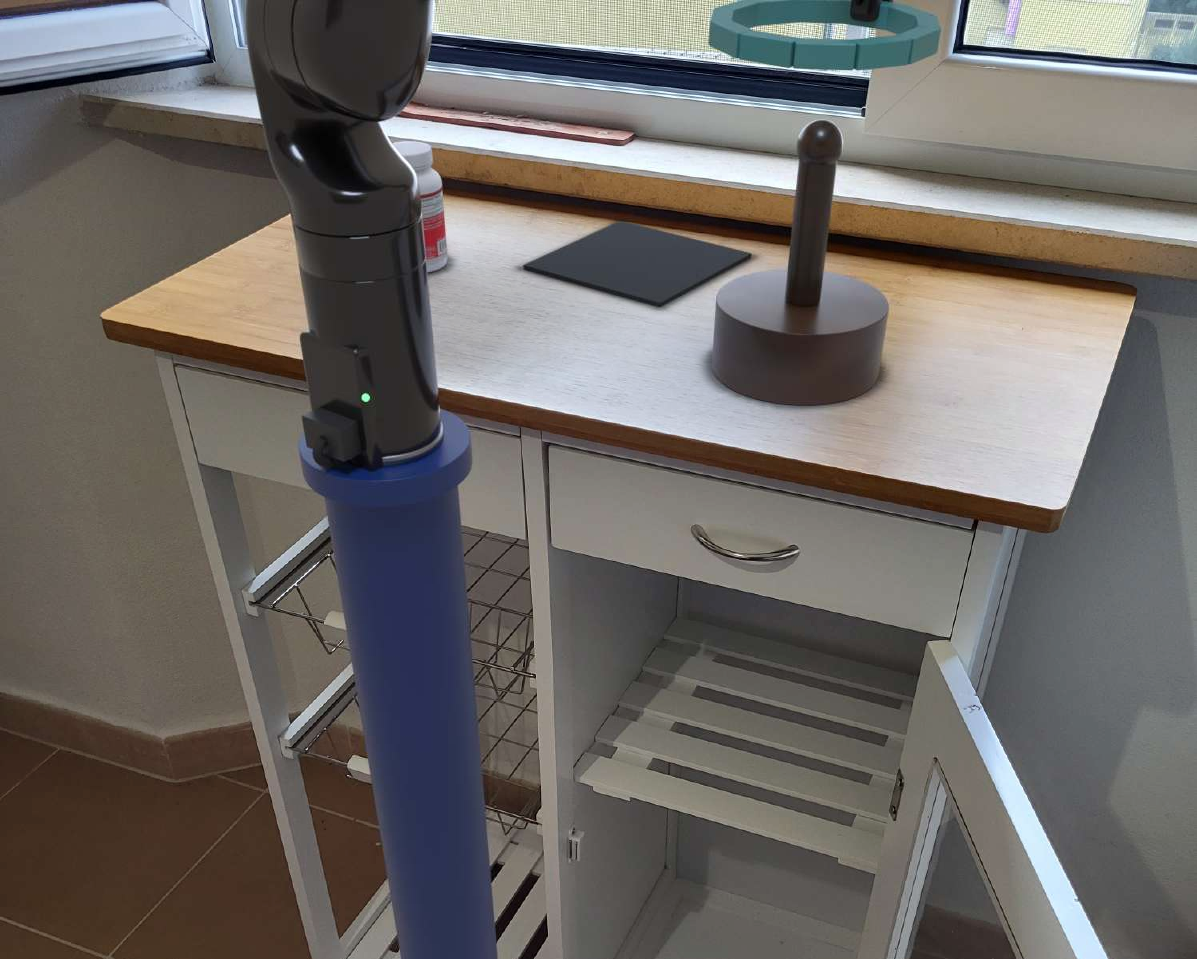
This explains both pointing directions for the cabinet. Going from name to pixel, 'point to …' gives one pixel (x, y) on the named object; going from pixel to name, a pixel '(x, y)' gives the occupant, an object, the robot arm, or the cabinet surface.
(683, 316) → the cabinet surface
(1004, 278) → the cabinet surface
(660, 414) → the cabinet surface
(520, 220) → the cabinet surface
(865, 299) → the peg stand
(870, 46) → the hoop
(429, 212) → the pill bottle
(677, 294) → the mat
